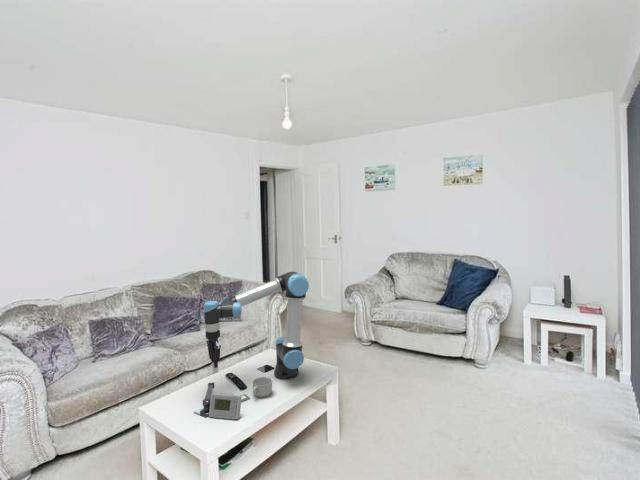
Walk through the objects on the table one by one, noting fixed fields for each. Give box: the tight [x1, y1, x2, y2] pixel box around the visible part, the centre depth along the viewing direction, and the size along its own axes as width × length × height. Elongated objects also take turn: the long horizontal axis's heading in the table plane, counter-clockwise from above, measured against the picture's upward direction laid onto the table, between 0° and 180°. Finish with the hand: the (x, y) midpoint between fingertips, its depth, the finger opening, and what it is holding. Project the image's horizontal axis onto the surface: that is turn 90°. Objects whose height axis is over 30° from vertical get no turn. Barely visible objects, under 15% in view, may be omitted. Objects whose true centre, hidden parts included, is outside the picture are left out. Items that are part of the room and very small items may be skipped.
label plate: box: [240, 393, 251, 403], centre depth 196 cm, size 8×6×1 cm
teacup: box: [252, 376, 273, 398], centre depth 199 cm, size 14×11×8 cm
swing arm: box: [202, 382, 215, 407], centre depth 192 cm, size 22×4×2 cm, turn 10°
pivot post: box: [199, 406, 210, 417], centre depth 183 cm, size 7×7×4 cm
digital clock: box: [208, 392, 242, 420], centre depth 180 cm, size 16×9×11 cm, turn 67°
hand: (215, 372), depth 198 cm, fingers closed
